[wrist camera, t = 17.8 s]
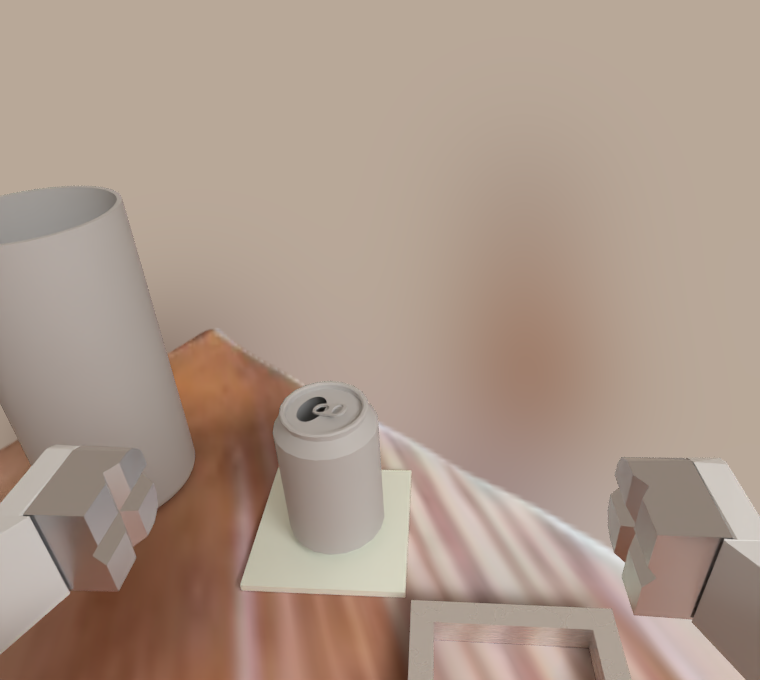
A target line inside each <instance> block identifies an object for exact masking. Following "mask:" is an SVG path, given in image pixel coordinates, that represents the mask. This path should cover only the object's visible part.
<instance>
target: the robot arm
mask: <svg viewBox="0 0 760 680" xmlns="http://www.w3.org/2000/svg"><path fill="white" fill-rule="evenodd" d="M146 465H147V463H146V461H145V458H144V456H143V453H142V451H141V450H139V449H136V448H130V447H108V446H86V445H82V446H72V445H54V446H52V447H49V448H47V449H46V450H45V451H44V452H43V453H42V455H41V456H40V457H39V458H38V459H37V460H36V462H35V463H34V464H33V465H32V466H31V468H30V469H29V470H28V471H27V472H26V473H25V475H24V476H23V477H22V478H21V479H20V481H19V482H18V483H17V484H16V485H15V487H14V488H13V489H12V490H11V491H10V492H9V494H8V495H7V496H6V497H5V498H4V500H3V501H2V502H1V503H0V654H1V653H3V652H4V651H5V650H6V649H7V648H8V647H9V646H11V645H12V644H13V643H14V642H15V641H16V640H17V639H19V638H20V637H21V636H22V635H23V634H24V633H26V632H27V631H28V630H29V629H30V628H31V627H32V626H34V625H35V624H36V623H37V622H38V621H39V620H40V619H42V618H43V617H44V616H45V615H46V614H47V613H48V612H50V611H51V610H52V609H53V608H54V607H55V606H56V605H58V604H59V603H60V602H61V601H62V600H63V599H65V598H66V597H67V596H68V595H69V594H70V591H119V590H120V588H121V586H122V584H123V582H124V580H125V578H126V576H127V574H128V573H129V571H130V569H131V567H132V565H133V563H134V561H135V559H136V554H135V550H134V546H135V545H136V544H137V543H139V542H140V541H142V540H143V539H144V538H146V537H147V536H148V534H149V532H150V530H151V528H152V526H153V524H154V522H155V517H156V512H157V507H158V500H157V492H156V489H155V486H154V483H153V482H152V481H151V480H150V479H148V478H147V477H146V476H145V475H144V474H142V472H143V470H144V469H145V467H146ZM615 477H616V480H617V483H618V485H619V488H618V489H617V490H616V491H614V492H613V493H612V494H611V495H610V500H609V506H608V529H609V535H610V540H611V543H612V547H613V550H614V553H615V554H616V555H617V556H619V557H620V558H621V559H622V560H623V561H624V562H625V566H624V570H623V574H622V579H623V582H624V586H625V589H626V592H627V595H628V598H629V601H630V604H631V608H632V611H633V614H634V615H639V616H653V617H666V618H680V619H693V620H692V623H693V624H694V625H695V626H696V627H697V628H698V629H699V630H700V631H701V632H702V634H703V635H704V636H705V637H706V638H707V639H708V640H709V641H710V642H711V643H712V644H713V645H714V646H715V647H716V648H717V649H718V651H719V652H720V653H721V654H722V655H723V656H724V657H725V658H726V659H727V660H728V661H729V662H730V663H731V664H732V665H733V666H734V668H735V669H736V670H737V671H738V672H739V673H740V674H741V675H742V676H743V677H744V678H745V679H746V680H760V517H759V515H758V513H757V511H756V510H755V508H754V506H753V505H752V503H751V501H750V500H749V498H748V497H747V495H746V493H745V492H744V490H743V489H742V487H741V485H740V484H739V482H738V480H737V479H736V477H735V475H734V474H733V472H732V471H731V469H730V467H729V466H728V464H727V462H725V461H724V460H722V459H721V458H686V459H684V458H637V457H636V458H635V457H631V458H630V457H621V459H620V460H619V462H618V464H617V469H616V472H615Z"/></svg>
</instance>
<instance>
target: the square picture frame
mask: <svg viewBox="0 0 760 680" xmlns="http://www.w3.org/2000/svg"><path fill="white" fill-rule="evenodd" d="M434 640H445V641H464V642H484V643H504V644H523V645H543V646H562V647H582V648H589V651H590V656H591V660H592V664H593V669H594V673H595V677H596V680H631V676H630V673H629V669H628V665H627V662H626V658H625V655H624V651H623V647H622V644H621V640H620V637H619V633H618V630H617V626H616V622H615V619H614V615H613V612H612V609H603V608H581V607H559V606H536V605H514V604H491V603H469V602H447V601H424V600H411V617H410V642H409V667H408V680H433V667H434Z"/></svg>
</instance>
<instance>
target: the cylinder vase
mask: <svg viewBox="0 0 760 680" xmlns="http://www.w3.org/2000/svg"><path fill="white" fill-rule="evenodd" d="M0 404H1V406H2V408H3V410H4V412H5V414H6V416H7V418H8V420H9V422H10V424H11V426H12V428H13V430H14V432H15V434H16V436H17V438H18V440H19V442H20V444H21V446H22V448H23V450H24V452H25V454H26V456H27V458H28V460H29V462H30V464H31V466H32V465H33V464H34V463H35V462H36V460H37V459H38V458H39V457H40V456H41V455H42V453H43V452H44V451H45V450H46V449H47V448H49V447H52V446H54V445H72V446H82V445H86V446H108V447H130V448H136V449H139V450H141V451H142V453H143V456H144V458H145V461H146V463H147V465H146V467H145V469H144V470H143V472H142V474H144V475H145V476H146V477H147V478H148V479H150V480H151V481H152V482H153V483H154V486H155V489H156V492H157V500H158V507H160V506H161V505H163V504H164V503H166V502H167V501H168V500H169V499H171V498H172V497H173V496H174V495H175V494H176V493H177V492H178V491H179V490H180V489H181V488H182V486H183V485H184V484H185V482H186V481H187V479H188V478H189V476H190V474H191V472H192V469H193V466H194V462H195V449H194V445H193V442H192V438H191V435H190V431H189V428H188V424H187V421H186V418H185V414H184V411H183V407H182V404H181V400H180V397H179V393H178V390H177V386H176V383H175V380H174V376H173V373H172V369H171V366H170V362H169V359H168V355H167V352H166V349H165V345H164V342H163V338H162V335H161V331H160V328H159V324H158V321H157V318H156V314H155V311H154V308H153V304H152V300H151V297H150V293H149V290H148V286H147V283H146V280H145V276H144V273H143V269H142V266H141V262H140V259H139V255H138V252H137V248H136V245H135V241H134V238H133V235H132V231H131V228H130V225H129V221H128V217H127V214H126V210H125V207H124V204H123V200H122V197H121V195H120V194H119V193H118V192H116V191H114V190H112V189H108V188H103V187H96V186H62V187H50V188H42V189H34V190H28V191H22V192H17V193H12V194H7V195H3V196H0ZM158 507H157V508H158Z"/></svg>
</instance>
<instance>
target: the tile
mask: <svg viewBox="0 0 760 680" xmlns="http://www.w3.org/2000/svg"><path fill="white" fill-rule="evenodd" d="M381 473H382V489H383V504H384V520H383V523H382V526H381V529H380V530H379V531H378V533H377V534H376V535H375V537H374V538H373V539H372V540H371V541H369V542H368V543H367V544H365V545H364V546H362V547H361V548H359V549H356V550H353V551H350V552H348V553H343V554H331V555H329V554H323V553H318V552H314V551H312V550H310V549H308V548H306V547H305V546H303V545H302V544H301V543H300V542H299V541H298V540H297V539H296V538H295V537H294V534H293V531H292V528H291V526H290V521H289V516H288V510H287V505H286V500H285V495H284V489H283V484H282V479H281V474H280V469H279V467H278V470H277V473H276V476H275V479H274V482H273V485H272V488H271V491H270V494H269V498H268V501H267V504H266V507H265V510H264V513H263V516H262V519H261V522H260V525H259V528H258V531H257V535H256V538H255V541H254V544H253V547H252V550H251V553H250V556H249V559H248V562H247V565H246V568H245V572H244V575H243V578H242V581H241V584H240V587H241V590H242V591H264V592H287V593H310V594H332V595H355V596H377V597H400V598H406V578H407V558H408V538H409V518H410V498H411V478H412V471H411V470H381Z"/></svg>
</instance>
